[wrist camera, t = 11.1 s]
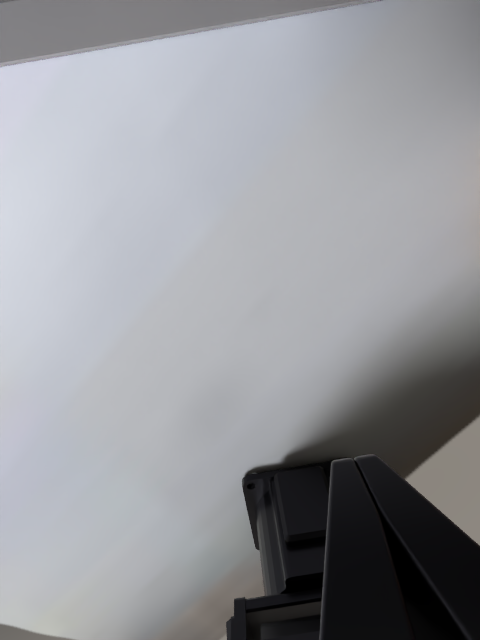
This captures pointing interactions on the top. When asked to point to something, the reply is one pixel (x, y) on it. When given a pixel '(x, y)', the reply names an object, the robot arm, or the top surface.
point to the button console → (128, 22)
